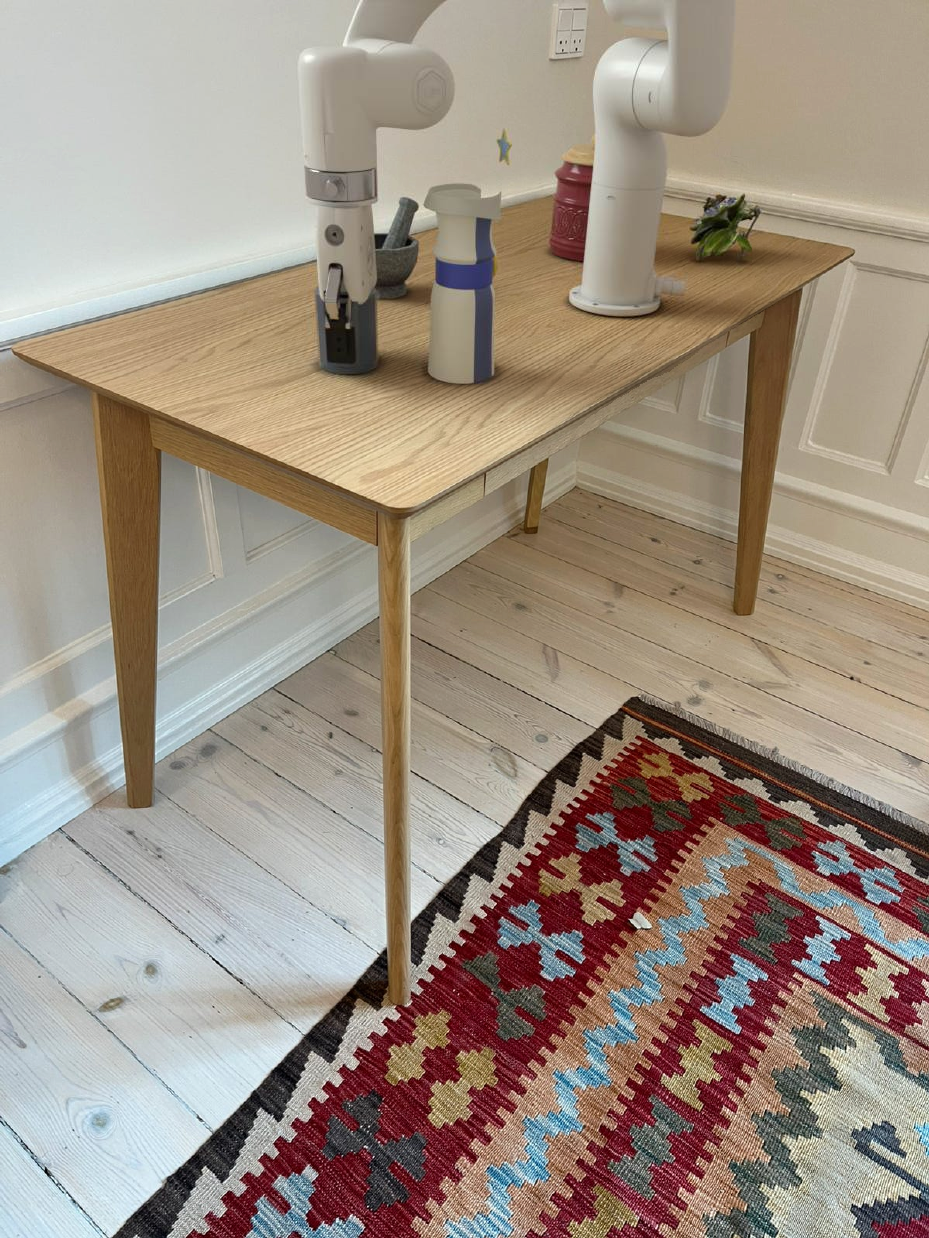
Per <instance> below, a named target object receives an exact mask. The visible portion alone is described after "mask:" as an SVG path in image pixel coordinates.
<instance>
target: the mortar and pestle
mask: <svg viewBox="0 0 929 1238" xmlns="http://www.w3.org/2000/svg"><path fill="white" fill-rule="evenodd" d="M419 207H420V206H419V203H418V202H417V201H415V200H414V199H413V198H410V197H407V196H401V197H400V198H399V200H398V209H397V211H396V213H395V216H394V218H393V221H392V222H391V226H390V228H389V231H388V232H374V238H375V254H376V269H377V281H376V285H375V289H376V290H377V300H385V299H386V300H387V299H389V300H390V299H391V300H392V299H397V298H401V297H404V296H405V295H406V293H407V284H406V281H407V280H408V279H409V277H411V276H412V273H413V271H414V269H415V267H416V265H417V263H418V256H419V252H420V251H419V250H420V249H419V248H420V247H419V246H420V244H419V243H420V242H419V240H418V239H416V238H414V237H412V236H410V232H411V229H412V224H413V221H414V218H415V215H416V212H418V211H419Z"/></svg>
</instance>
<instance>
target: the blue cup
mask: <svg viewBox="0 0 929 1238" xmlns="http://www.w3.org/2000/svg"><path fill="white" fill-rule="evenodd" d="M313 293H314V308H315V322H316V324H315V325H316V338H317V339H316V340H317V353H318V361H319V362H318V363H319V366H320V368H321V369H322V370H324V371H326V372H327V373H331V374H336V375H360V374H364V373H368V372H371V371H373V370H375V369H377V367H378V365H379V332H378V331H379V330H378V329H379V328H378V327H379V326H378V298H377V290H376V289H375V287H373V289H372V291H371V293H370V294H369V296H368V299H367V300H366V301H365V302H364V303H363V304H362V305H360V304H358V302H354V301H353V316H352V327H355V342H356V361H355V363H354V364H343V363H330V362H328V361H327V350H326V334H325V315H326V314H325V311H326V305H325V302H324V301H323V300H322V299H321V297H320V292H319V285H318V286H316V287H315V288H314V290H313ZM340 298H348V295H340ZM340 308H343V310H344V311H345V316H346V307H345V306H340Z"/></svg>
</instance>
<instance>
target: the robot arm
mask: <svg viewBox="0 0 929 1238" xmlns="http://www.w3.org/2000/svg"><path fill="white" fill-rule="evenodd" d="M602 1H603V6H604V9H605V11H606V14H607V16H608V17H609V18H610V19H611V20H612V21H613V22H614V23H615V22H616V23H617V24H619V25H622V26H626V27H633V28H640V29H648V30H656V31H666V32H667V39H663V38H654V37H653V38H652V37H639V36H638V37H630V38H624V39H622V40H619V41H617V42H615V43H613V44H612V45H611V46H610V47H608V48H607V49H606V50H605V52H604V53H603V54H602V55H601V57H600V59H599V61H598V62H597V64H596V68H595V71H594V76H593V81H592V105H593V116H594V134H595V153H594V165H593V176H592V184H591V194H590V204H589V215H588V225H587V235H586V245H585V255H584V261H583V264H582V265H583V267H582V276H581V277H582V278H581V284H579V285H576V286H574V287H573V288H571V290H569V294H568V295H569V296H568V300H569V303H570V304H571V305H572V306H574V307H576V308H577V309H579V310H582V311H584V312H587V313H591V314H596V315H601V316H609V317H636V316H637V317H638V316H643V315H649V314H651V313H654V312H655V311H657V310H658V309H659V308H660V305H661V304H660V303H661V295H670V296H676V297H684V296H685V294H686V287H687V281H686V280H676V278H675V277H659V275H657V273H656V270H655V267H654V266H655V265H654V264H655V259H656V258H655V257H656V252H657V251H656V250H657V244H658V237H659V229H660V224H661V217H662V216H661V214H662V208H663V201H664V195H665V194H664V193H665V187H666V185H667V184H666V183H667V176H668V175H667V174H668V155H667V149H666V142H665V140H664V139H665V138H664V135H663V133H664V134H669V135H672V136H673V135H674V136H680V137H687V138H690V137H691V138H692V137H695V138H696V137H699V136H702V135H705V134H707V133H708V132H710V131H711V130H712V129H714V128H715V127H716V126H717V125H718V123H719V121H720V120H721V118H722V117H723V114H724V113H725V110H726V108H727V105H728V101H729V97H730V93H731V88H732V87H731V86H732V78H733V63H734V42H735V24H736V21H735V20H736V3H737V2H736V0H602ZM445 2H447V0H359V1H358V3H357V6H356V9H355V11H354V13H353V16H352V18H351V21H350V24H349V26H348V29H347V32H346V34H345V37H344V39H343V42H342V45H317V46H311V47H308V48H305V49H303V51H302V52H300V55H299V56H298V61H297V81H298V95H299V108H300V125H301V137H302V138H301V139H302V153H303V154H302V155H303V170H304V183H305V199H306V201H307V203H309V204H311V205H315V239H316V241H315V242H316V243H315V245H316V263H317V264H316V267H317V282H318V286H319V292H320V297H321V299H322V300H323V301H324V302H325V305H326V311H325V314H326V315H325V334H326V350H327V361H328V362H330V363H343V364H354V363H355V361H356V342H355V327H352V316H353V301H354V302H358V304H360V305H362V304H363V303H364V302H365V301H366V300H367V299H368V296H369V294H370V293H371V291H372V289H373V287H375V285H376V281H377V269H376V254H375V238H374V233H375V224H374V217H373V216H374V215H373V206H372V205H373V204H374V205H375V204H376V203H378V201H379V192H378V191H379V190H378V189H379V188H378V150H377V149H378V148H377V129H379V128H390V129H401V130H409V131H410V130H411V131H419V130H425V129H428V128H431V127H433V126H435V125H437V124H438V123H440V122H441V121H442V120H443V119H444V118H445V117H446V116H447V115H448V113H449V111H450V110H451V107H452V105H453V102H454V99H455V92H456V84H455V78H454V75H453V72H452V69H451V68H450V66H449V63H447V61H446V60H445V59H444V58H443V57H442V56H441V55H440V54H438V52H436V51H434V50H432V49H430V48H428V47H426V46H422V45H419V44H412V43H413V42H414V39H415V37H416V35H417V34H418V32H419V31H420V29H421V28H422V26H423V25H424V23H425V22H426V21H427V19H428V18H429V17H430V16H431V15H432V14H433V13H434V12H435V11H436V10H437V9H438V8H439V7H440V6H441V5H442V4H444V3H445ZM340 295H348V298H340ZM340 306H345V307H346V316H345V311H344V310H343V308H340Z"/></svg>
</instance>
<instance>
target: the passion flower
mask: <svg viewBox="0 0 929 1238" xmlns="http://www.w3.org/2000/svg"><path fill="white" fill-rule="evenodd" d="M727 197H728V196H727V195H726V194H725V195H722V194H719V193H718V194H715V196H714V197H711V196H708V197H707V198H706V199H705V204H704V205H702V208H703V213H702V215H698V218H696V220H695V225H691V226H690V227H689V231H691V232H694V234H693V237H692V238H691V240H690V244H691V245H696V244H698V245H697V247H696V249H695V256H694V257H695V258H696V261H697V262H699V260H700V257H702V258H703V259H705V258H707V257H709V256H711V255H714V256H719V255H721V254H723V253H725V252H726V251H728V249H730V248H731V247H732V246H733V245H735V244H736V243H737V244H738V246H739V247H740V248H741V251H740V262H743V257H744V255H745V251H747V252H748V253H752V252H753V249H752V245H751V243H750V241H749V239H748V238H749V235H750V233H751V231H752V230H753V227H754V225H755V224H756V222H757V220H758V219H759V217H760V214H761V213H762V211H761V209H760V208H761V207H760V205H758V204H757V203H755V204H754V205H753V206H752V205H751V206H748V209H749V212H746V211H745V208H746V205H747V204H748V202H747V201H746V200H745V199H746V193H745V192H744V193H742V194H740V195H739V196H738V198H736V197H735V196H730V197H728V198H729V199H728V200H727V201H726V199H727ZM747 220H749V221H752V220H753V221H752V223H751V224H750V227H749V228H748V230H747V232H745V231H744V230H740V229H738V227H739V224H740V223H741V222H743V221H747ZM737 229H738V230H737Z"/></svg>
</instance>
